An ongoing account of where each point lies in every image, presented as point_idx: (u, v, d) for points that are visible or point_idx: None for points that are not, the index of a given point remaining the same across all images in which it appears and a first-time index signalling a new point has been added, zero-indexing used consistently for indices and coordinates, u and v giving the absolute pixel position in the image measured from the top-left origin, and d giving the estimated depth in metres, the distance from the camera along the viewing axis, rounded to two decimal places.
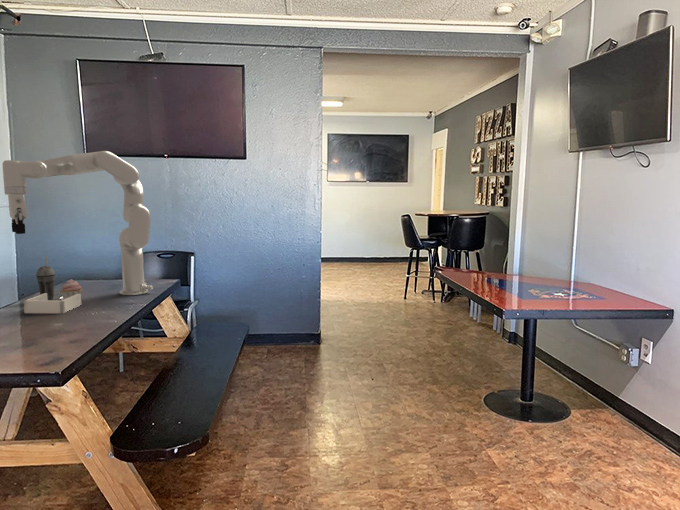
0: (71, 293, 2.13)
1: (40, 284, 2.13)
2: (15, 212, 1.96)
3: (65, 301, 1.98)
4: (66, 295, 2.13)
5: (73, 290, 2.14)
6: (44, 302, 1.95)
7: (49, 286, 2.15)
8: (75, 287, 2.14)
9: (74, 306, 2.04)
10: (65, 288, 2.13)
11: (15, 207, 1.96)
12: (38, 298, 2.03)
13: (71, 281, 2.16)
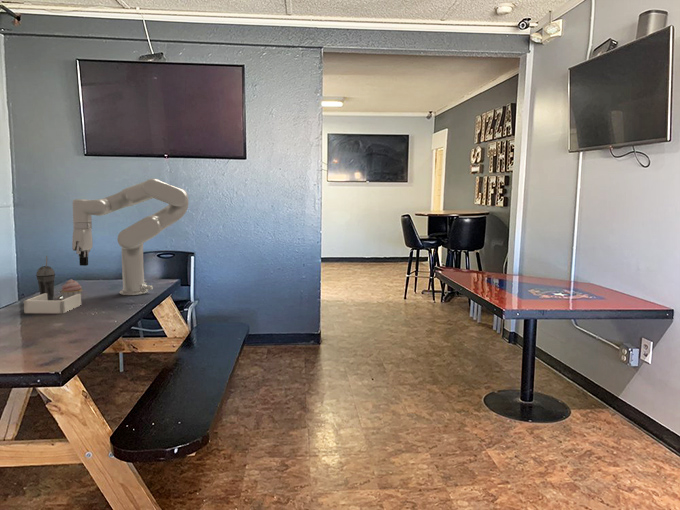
0: (71, 293, 2.13)
1: (40, 284, 2.13)
2: None
3: (65, 301, 1.98)
4: (66, 295, 2.13)
5: (73, 290, 2.14)
6: (44, 302, 1.95)
7: (49, 286, 2.15)
8: (75, 287, 2.14)
9: (74, 306, 2.04)
10: (65, 288, 2.13)
11: None
12: (38, 298, 2.03)
13: (71, 281, 2.16)
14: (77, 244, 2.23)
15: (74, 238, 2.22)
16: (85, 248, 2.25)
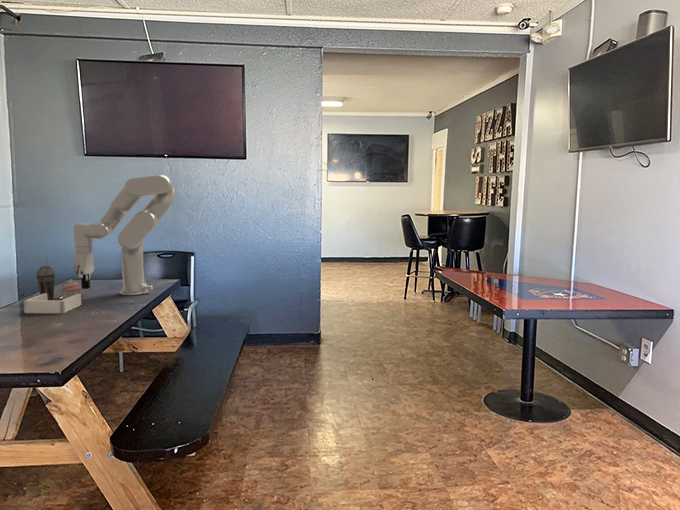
0: (71, 293, 2.13)
1: (40, 284, 2.13)
2: None
3: (65, 301, 1.98)
4: (66, 295, 2.13)
5: (73, 290, 2.14)
6: (44, 302, 1.95)
7: (49, 286, 2.15)
8: (75, 287, 2.14)
9: (74, 306, 2.04)
10: (65, 288, 2.13)
11: None
12: (38, 298, 2.03)
13: (71, 281, 2.16)
14: (79, 268, 2.24)
15: (76, 262, 2.23)
16: (87, 271, 2.26)
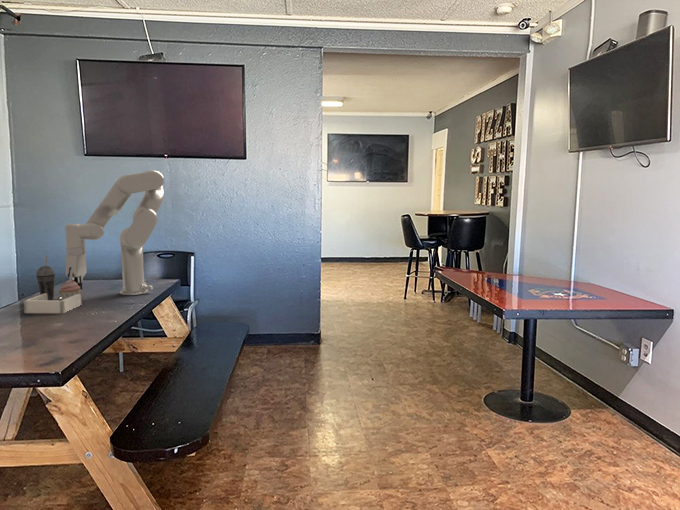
0: (70, 293, 2.12)
1: (40, 284, 2.13)
2: None
3: (65, 301, 1.98)
4: (65, 295, 2.12)
5: (72, 290, 2.13)
6: (44, 302, 1.95)
7: (49, 286, 2.15)
8: (74, 287, 2.13)
9: (74, 306, 2.04)
10: (64, 289, 2.12)
11: None
12: (38, 298, 2.03)
13: (70, 281, 2.15)
14: (70, 270, 2.17)
15: (67, 264, 2.16)
16: (79, 274, 2.19)
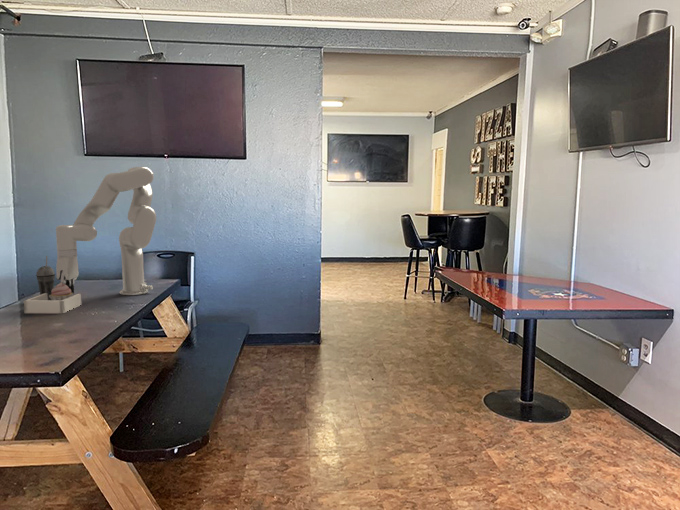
0: (59, 297, 2.05)
1: (40, 284, 2.13)
2: None
3: (65, 301, 1.98)
4: (55, 299, 2.05)
5: (62, 294, 2.05)
6: (44, 302, 1.95)
7: (49, 286, 2.15)
8: (64, 291, 2.06)
9: (74, 306, 2.04)
10: (54, 292, 2.05)
11: None
12: (38, 298, 2.03)
13: (60, 285, 2.07)
14: (61, 273, 2.09)
15: (58, 267, 2.09)
16: (70, 277, 2.12)
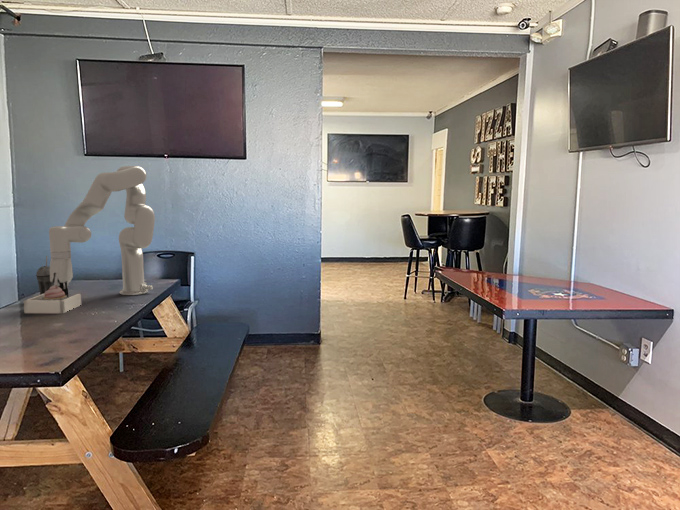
0: None
1: (40, 284, 2.13)
2: None
3: (65, 301, 1.98)
4: None
5: (55, 297, 2.00)
6: (44, 302, 1.95)
7: (49, 286, 2.15)
8: (57, 294, 2.01)
9: (74, 306, 2.04)
10: (47, 295, 2.00)
11: None
12: (38, 298, 2.03)
13: (54, 287, 2.02)
14: (55, 276, 2.04)
15: (51, 269, 2.04)
16: (64, 279, 2.07)
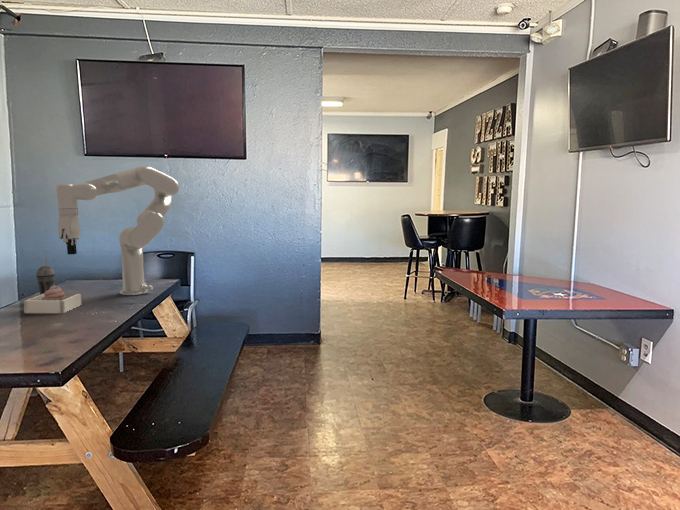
0: None
1: (40, 284, 2.13)
2: None
3: (65, 301, 1.98)
4: None
5: (55, 297, 2.00)
6: (44, 302, 1.95)
7: (49, 286, 2.15)
8: (57, 294, 2.01)
9: (74, 306, 2.04)
10: (47, 295, 2.00)
11: None
12: (38, 298, 2.03)
13: (54, 287, 2.02)
14: (63, 232, 2.10)
15: (60, 225, 2.09)
16: (72, 236, 2.13)
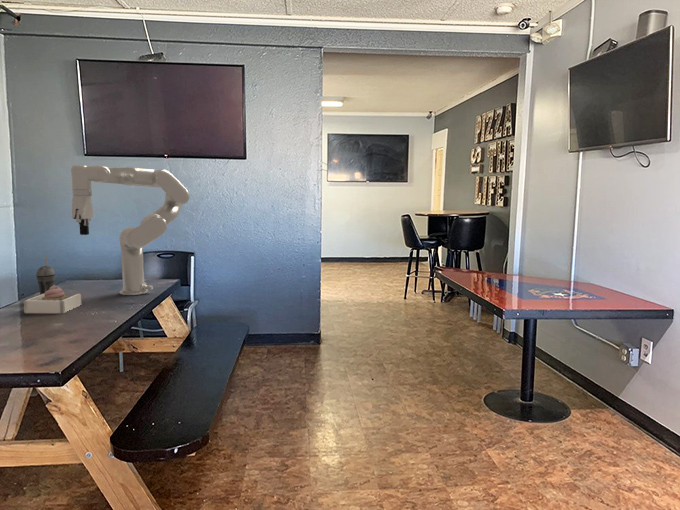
0: None
1: (40, 284, 2.13)
2: None
3: (65, 301, 1.98)
4: None
5: (55, 297, 2.00)
6: (44, 302, 1.95)
7: (49, 286, 2.15)
8: (57, 294, 2.01)
9: (74, 306, 2.04)
10: (47, 295, 2.00)
11: None
12: (38, 298, 2.03)
13: (54, 287, 2.02)
14: (77, 212, 2.14)
15: (74, 205, 2.13)
16: (85, 216, 2.16)
